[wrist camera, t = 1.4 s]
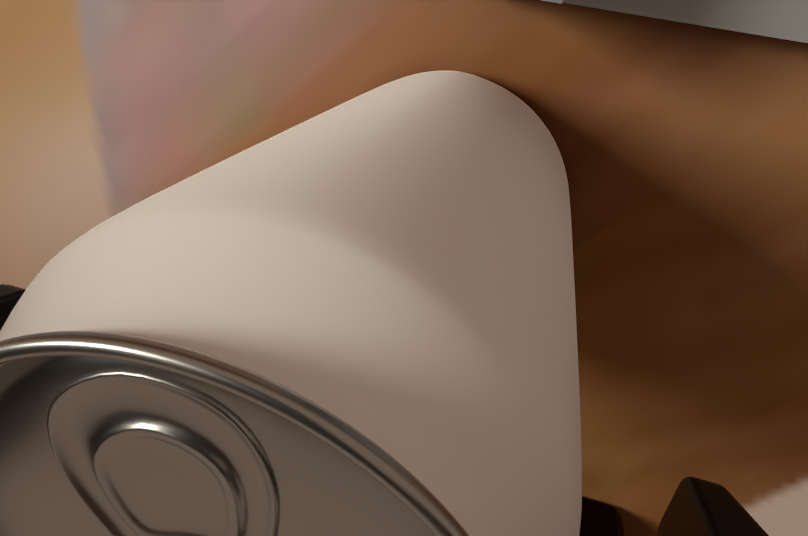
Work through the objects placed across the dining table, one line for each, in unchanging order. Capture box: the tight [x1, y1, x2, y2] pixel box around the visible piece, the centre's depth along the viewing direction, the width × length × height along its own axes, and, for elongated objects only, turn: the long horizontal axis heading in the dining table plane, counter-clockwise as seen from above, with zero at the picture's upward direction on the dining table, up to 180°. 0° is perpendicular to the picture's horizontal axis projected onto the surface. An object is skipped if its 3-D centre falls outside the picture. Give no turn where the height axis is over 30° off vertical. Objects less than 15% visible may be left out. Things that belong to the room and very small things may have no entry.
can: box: [0, 71, 582, 536], centre depth 10 cm, size 6×6×12 cm
